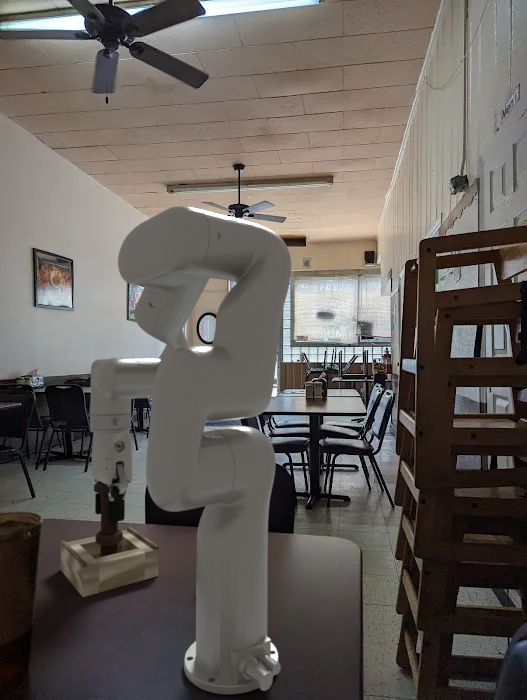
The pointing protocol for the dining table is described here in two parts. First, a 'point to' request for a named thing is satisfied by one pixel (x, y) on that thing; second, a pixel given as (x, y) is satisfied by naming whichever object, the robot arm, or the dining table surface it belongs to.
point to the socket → (109, 563)
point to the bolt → (107, 524)
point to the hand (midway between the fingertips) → (109, 516)
